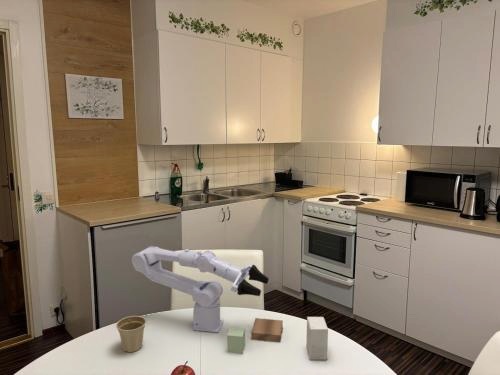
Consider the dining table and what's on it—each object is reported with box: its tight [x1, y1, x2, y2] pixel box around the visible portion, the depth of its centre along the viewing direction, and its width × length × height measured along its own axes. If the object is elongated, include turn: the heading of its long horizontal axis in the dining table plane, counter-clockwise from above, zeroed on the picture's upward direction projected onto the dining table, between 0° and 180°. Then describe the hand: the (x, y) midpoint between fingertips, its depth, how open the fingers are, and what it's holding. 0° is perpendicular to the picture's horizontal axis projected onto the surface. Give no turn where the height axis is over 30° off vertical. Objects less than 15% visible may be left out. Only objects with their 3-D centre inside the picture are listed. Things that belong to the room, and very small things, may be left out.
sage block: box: [226, 326, 246, 355], centre depth 123 cm, size 5×5×6 cm
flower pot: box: [115, 315, 147, 353], centre depth 124 cm, size 9×9×9 cm
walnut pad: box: [250, 317, 283, 343], centre depth 133 cm, size 10×10×3 cm
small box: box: [306, 316, 329, 361], centre depth 121 cm, size 8×6×10 cm
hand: (264, 287), depth 128 cm, fingers open, 7 cm apart
